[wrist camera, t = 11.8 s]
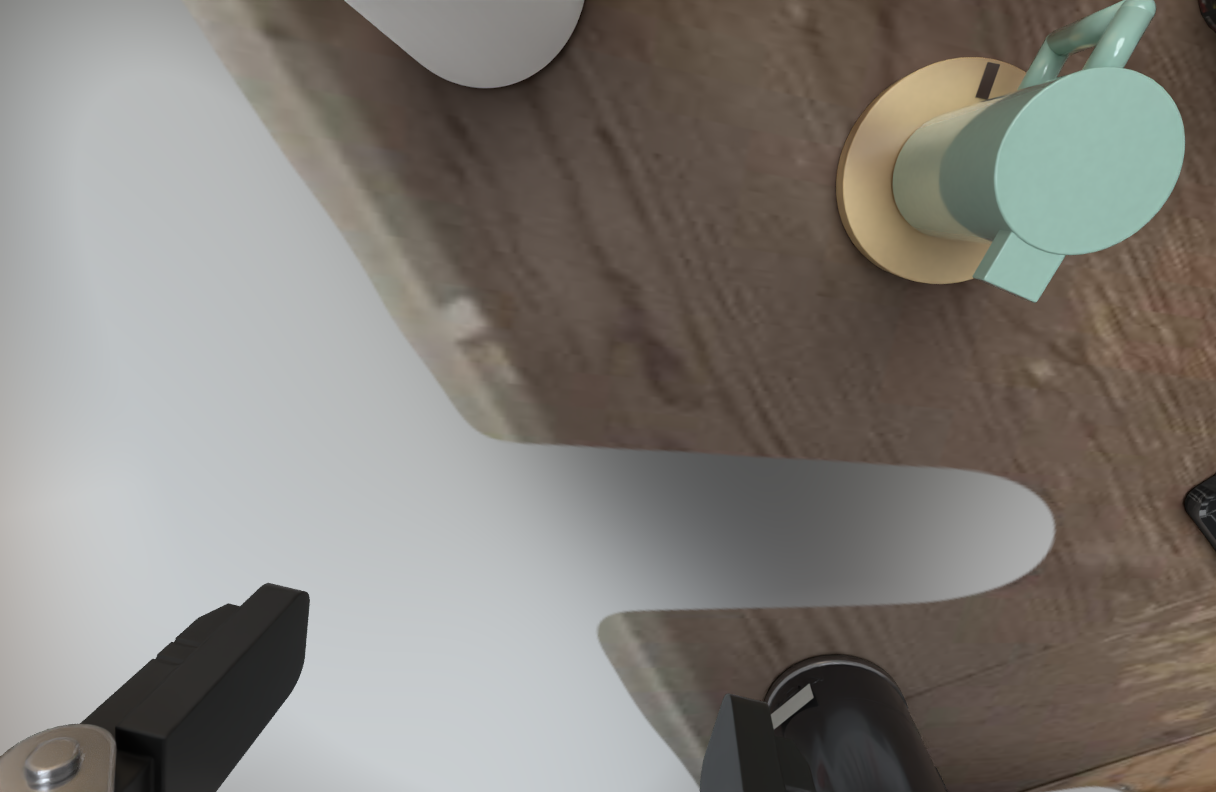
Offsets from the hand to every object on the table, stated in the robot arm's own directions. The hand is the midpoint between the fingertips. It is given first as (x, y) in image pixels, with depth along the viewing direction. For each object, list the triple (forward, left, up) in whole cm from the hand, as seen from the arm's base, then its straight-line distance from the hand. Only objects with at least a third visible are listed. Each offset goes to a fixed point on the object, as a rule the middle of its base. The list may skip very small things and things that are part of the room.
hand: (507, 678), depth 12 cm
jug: (-6, -20, -26) cm, 33 cm away
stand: (-6, -19, -28) cm, 34 cm away
